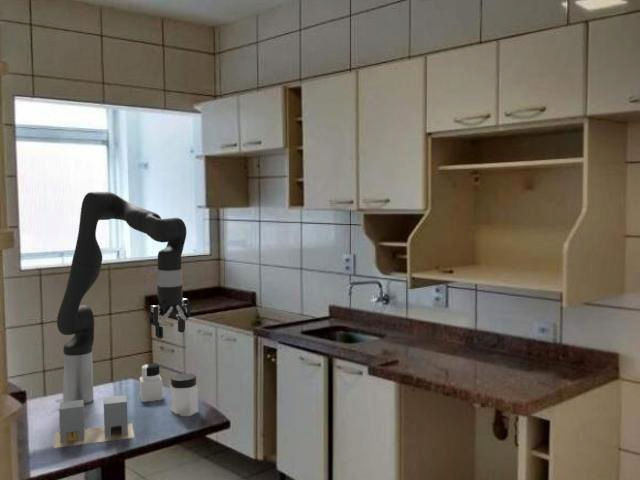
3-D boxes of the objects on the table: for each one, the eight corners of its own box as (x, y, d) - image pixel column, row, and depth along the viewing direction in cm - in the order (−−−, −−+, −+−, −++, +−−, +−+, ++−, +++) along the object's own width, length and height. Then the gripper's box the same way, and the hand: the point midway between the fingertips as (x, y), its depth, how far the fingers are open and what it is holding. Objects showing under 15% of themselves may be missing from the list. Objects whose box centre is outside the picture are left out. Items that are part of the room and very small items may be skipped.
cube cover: (60, 443, 181) (59, 409, 180) (61, 435, 187) (60, 402, 186) (84, 440, 183) (83, 406, 182) (84, 432, 189) (83, 399, 188)
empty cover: (104, 437, 185) (103, 404, 184) (104, 429, 191) (103, 397, 190) (127, 434, 187) (126, 401, 186) (126, 427, 193) (125, 395, 192)
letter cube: (65, 441, 182) (64, 427, 182) (65, 436, 186) (65, 422, 186) (79, 439, 184) (79, 426, 183) (80, 434, 187) (79, 421, 187)
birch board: (53, 451, 178) (53, 447, 178) (55, 435, 189) (55, 432, 189) (134, 440, 185) (134, 437, 185) (132, 426, 196) (132, 423, 196)
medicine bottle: (160, 394, 228) (159, 361, 227) (162, 400, 221) (162, 366, 220) (139, 396, 225) (139, 363, 225) (141, 402, 219) (141, 368, 218)
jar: (199, 407, 213) (198, 372, 212) (196, 416, 205) (196, 380, 204) (172, 408, 212) (171, 373, 211) (168, 417, 204) (168, 380, 203)
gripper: (179, 278, 201) (179, 328, 203) (143, 285, 190) (144, 338, 192) (195, 281, 197) (196, 332, 199) (159, 288, 186) (160, 342, 188)
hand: (170, 335), depth 196 cm, fingers open, 8 cm apart
